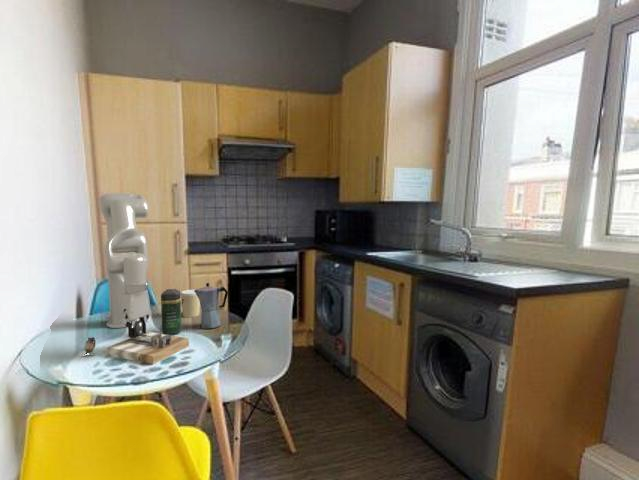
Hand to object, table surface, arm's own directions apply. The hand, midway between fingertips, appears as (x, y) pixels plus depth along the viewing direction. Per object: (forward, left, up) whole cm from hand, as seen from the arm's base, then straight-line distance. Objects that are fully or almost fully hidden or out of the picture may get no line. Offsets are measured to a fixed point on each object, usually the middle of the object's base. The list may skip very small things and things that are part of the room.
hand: (137, 334), depth 140 cm
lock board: (+6, 0, -5) cm, 8 cm away
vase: (-12, -10, -6) cm, 17 cm away
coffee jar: (-1, +19, -5) cm, 20 cm away
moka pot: (+10, +32, -5) cm, 34 cm away
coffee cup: (-10, +42, -5) cm, 44 cm away
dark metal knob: (+3, 0, -2) cm, 4 cm away
